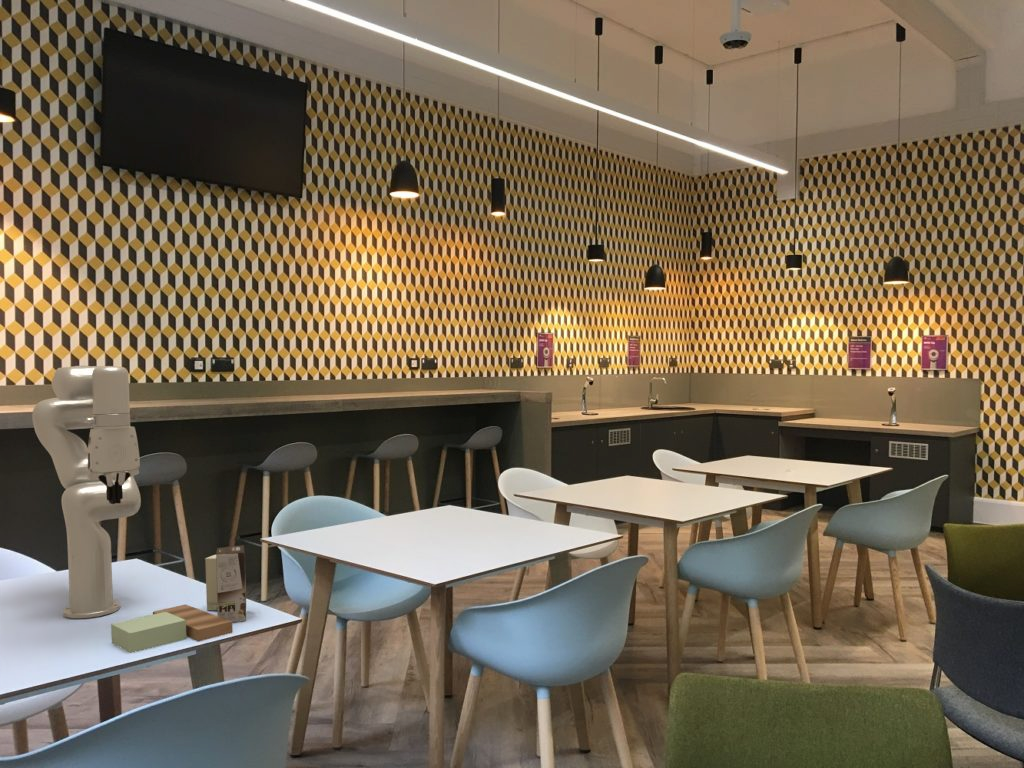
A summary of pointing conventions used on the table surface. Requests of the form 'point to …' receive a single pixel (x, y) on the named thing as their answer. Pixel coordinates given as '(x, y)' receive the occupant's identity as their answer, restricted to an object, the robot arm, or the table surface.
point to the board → (200, 622)
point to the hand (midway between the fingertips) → (114, 502)
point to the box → (211, 583)
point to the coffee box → (231, 583)
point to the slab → (148, 631)
